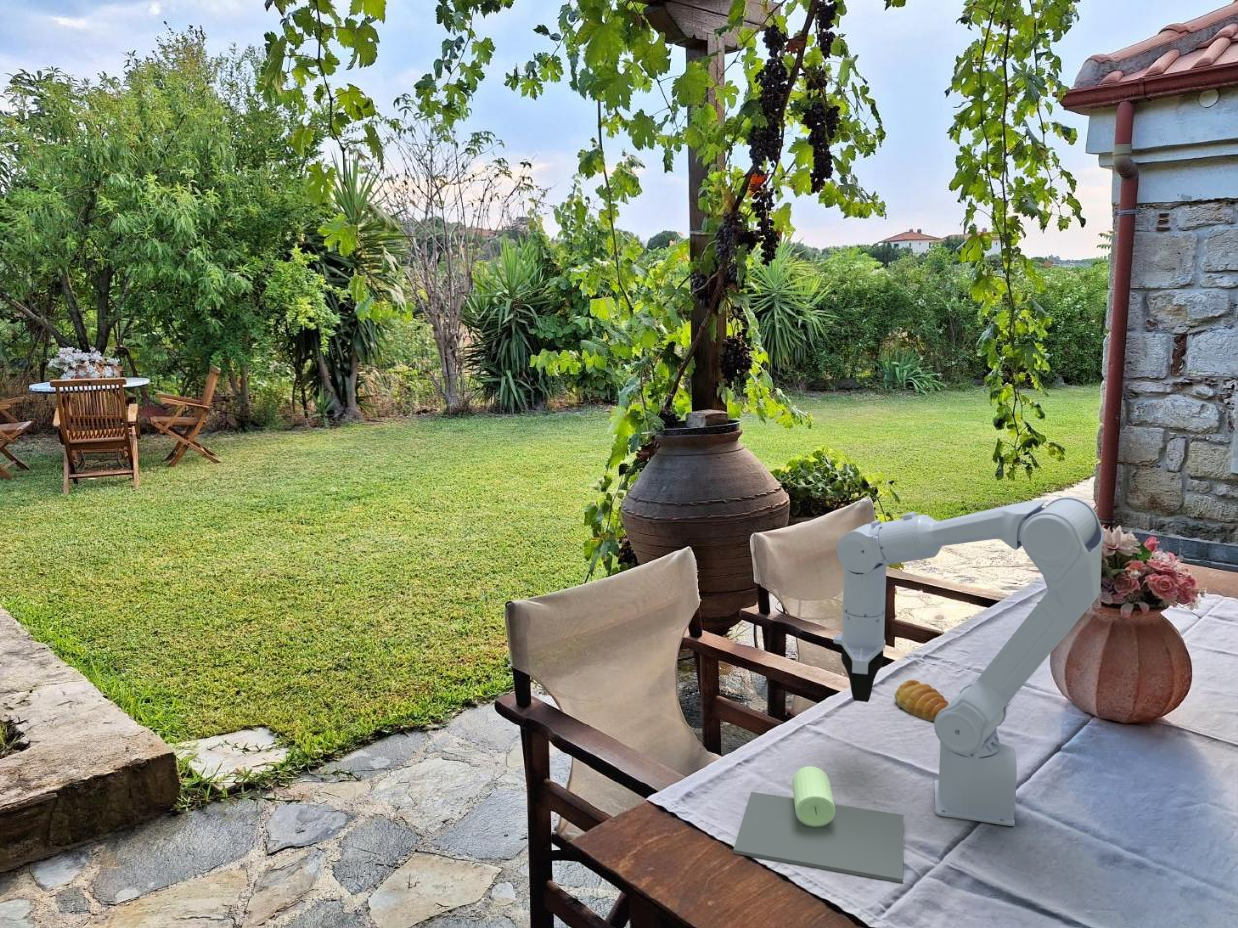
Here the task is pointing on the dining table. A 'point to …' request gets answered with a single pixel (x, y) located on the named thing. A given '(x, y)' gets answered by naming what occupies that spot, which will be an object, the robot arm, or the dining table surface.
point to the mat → (823, 838)
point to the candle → (813, 797)
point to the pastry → (920, 700)
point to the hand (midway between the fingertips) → (861, 699)
